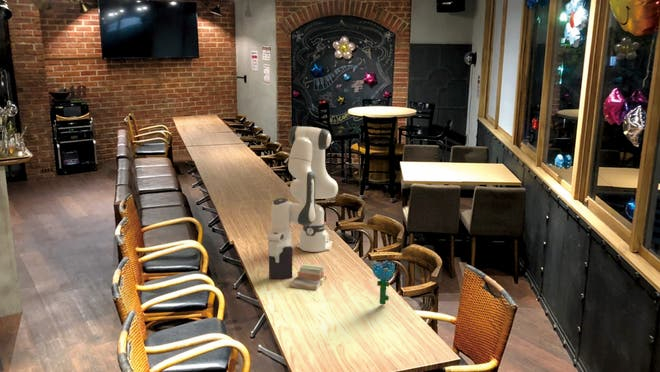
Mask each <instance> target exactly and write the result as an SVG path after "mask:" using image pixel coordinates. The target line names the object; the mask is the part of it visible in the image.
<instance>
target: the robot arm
mask: <svg viewBox="0 0 660 372" xmlns="http://www.w3.org/2000/svg"><path fill="white" fill-rule="evenodd" d="M287 140H288V143H289V145H290V146H291V149H290V153H289V159H288V163H287V165H288V166H287V167H288V169H287V170H288V171H289V173H290V174H291V176H292V177H293V178H295V179H292V181H291V183H290V186H289V191H290V194H291V195H292V196H293V198H295V199H296V200H297V201H298V202H299V203H296V202H291V201H290V200H289V199H287V198H285V197H279V198H274V200H272V203H271V208H270V209H271V211H270V219H271V225H270V231H269V233H268V234H267V240H268V242H267V251H268V257H269V256H273V257H275V262H276V263H279V262H280V258H279V254H280V253H282V252H283V248H284V247H286V246H291V247H292V235H291V231H290V229H291V226H290V225H291V224H290V223H292V224H297V225H301V226H302V231H301V232H300V234H299V235H300V236H299V244H297V245H296V246H297V248H300V250H302V251H305V252H310V253H313V252H314V253H315V252H316V253H318V252H324V251H330V250H331V248H332V246H333V241H332V240H330V239H329V238H330V236H329V235H330V233H328V231H327V230H326V224H327V222H326V221H325V210H324V208H323V207H322V206H321V205H319V204H317V203H316V200H317V199H321V200H322V199H326V200H327V199H332V198H335V197H336V196H337V194H338V193H339V192H338V191H339V186H338V183H337V181H336V180H335V179H334V178H332V177H331V176H330V174H328V171H327V169H326V168H327V167H326V149H328V148H329V147H330V144H331V142H332V134H331V132H330V131H329V130H328V129H325V128H319V127H313V126H300V125H295V126H292V127H291V128H290V129H289V131H288V135H287Z"/></svg>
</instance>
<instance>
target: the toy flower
mask: <svg viewBox="0 0 660 372" xmlns="http://www.w3.org/2000/svg"><path fill="white" fill-rule="evenodd" d="M395 269H396V266H395V263H392V262H389V261H388V260H385V261H384V262H381V264H377V263H376V262H374V263H373V266H372V273H373V276H375V278H377V280H378V281H376V282H377V284H376V285H377V287H379V304H380V305H381V306H383V305H386V301H389V299H390V297H389V295H387V288H388V287H390V282H389V281H388V280H390V279H391V278H392V276H394V273H395V271H396V270H395Z"/></svg>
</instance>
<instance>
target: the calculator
mask: <svg viewBox="0 0 660 372" xmlns="http://www.w3.org/2000/svg"><path fill="white" fill-rule="evenodd" d="M279 258H280V262H279V263H276V262H275V257H273V256H269V255H268V277H269V279H271V280H272V279H292V278H293V246H292V245H291V246H286V247H284V248H283V252H282V253H280V254H279Z"/></svg>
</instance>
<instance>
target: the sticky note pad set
mask: <svg viewBox="0 0 660 372" xmlns="http://www.w3.org/2000/svg"><path fill="white" fill-rule="evenodd" d="M324 269H325V268H324V266H323V265H316V264H315V265H314V264H308V263H303V264H302V265H301V266H299V271H298V272H297V276H296V277H294V279H292V280H291V281H290V282H289V287H290V288H296V289H303V290H310V291H311V290H312V291H317V290H318V289H319V288H320V287H321V286H322V285H323V284H324V283H325V282H326V280H327V279H328V277H327V275H325V271H324Z"/></svg>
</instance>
